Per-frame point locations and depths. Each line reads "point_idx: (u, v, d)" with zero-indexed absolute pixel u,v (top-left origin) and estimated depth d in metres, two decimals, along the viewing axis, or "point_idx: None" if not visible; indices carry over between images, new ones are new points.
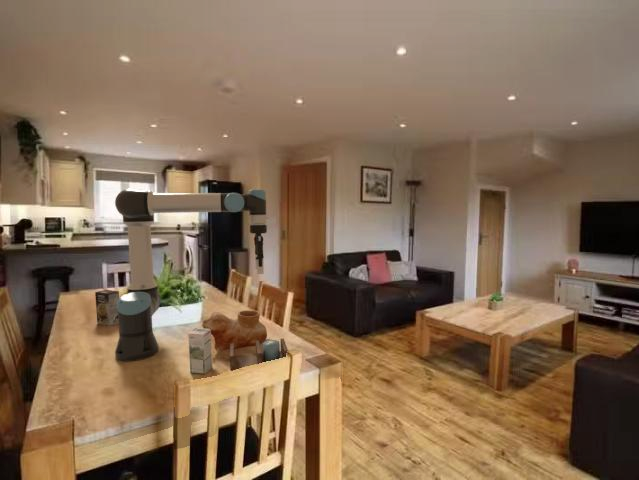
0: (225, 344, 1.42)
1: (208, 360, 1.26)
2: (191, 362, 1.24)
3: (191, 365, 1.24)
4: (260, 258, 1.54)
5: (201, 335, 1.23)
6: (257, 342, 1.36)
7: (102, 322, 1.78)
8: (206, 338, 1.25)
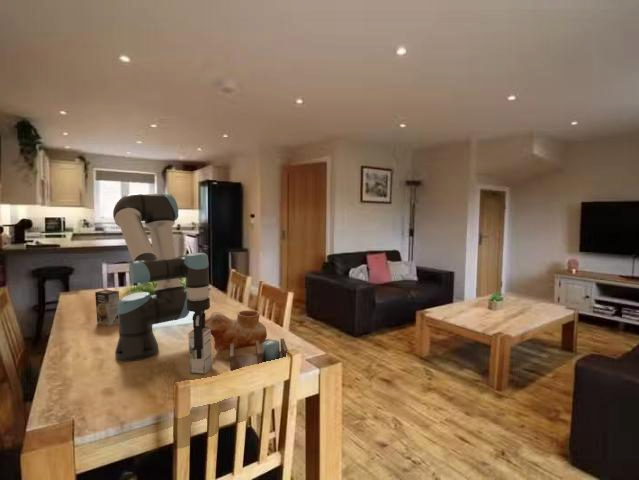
0: (225, 344, 1.42)
1: (208, 360, 1.26)
2: (191, 362, 1.24)
3: (191, 365, 1.24)
4: None
5: None
6: (257, 342, 1.36)
7: (102, 322, 1.78)
8: (206, 338, 1.25)
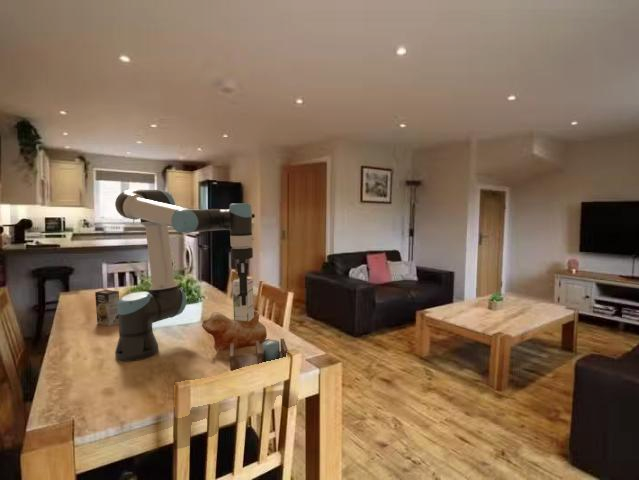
0: (225, 344, 1.42)
1: (251, 309, 1.29)
2: (235, 310, 1.27)
3: (235, 313, 1.27)
4: (243, 295, 1.23)
5: None
6: (257, 342, 1.36)
7: (102, 322, 1.78)
8: (249, 286, 1.27)
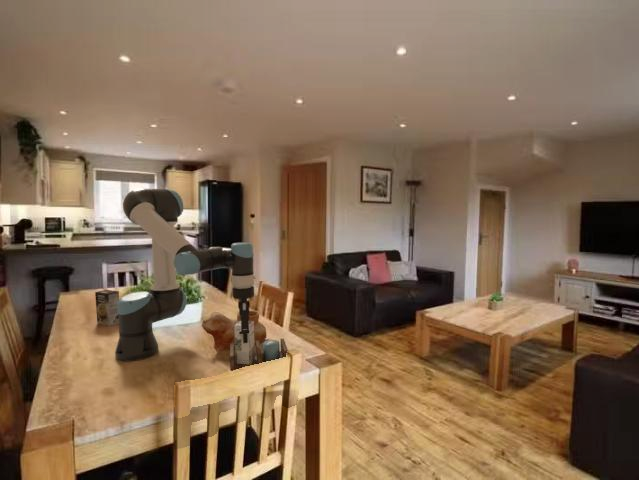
0: (225, 344, 1.42)
1: (252, 351, 1.30)
2: (237, 353, 1.28)
3: (237, 356, 1.28)
4: (245, 333, 1.21)
5: None
6: (257, 342, 1.36)
7: (102, 322, 1.78)
8: (251, 330, 1.29)
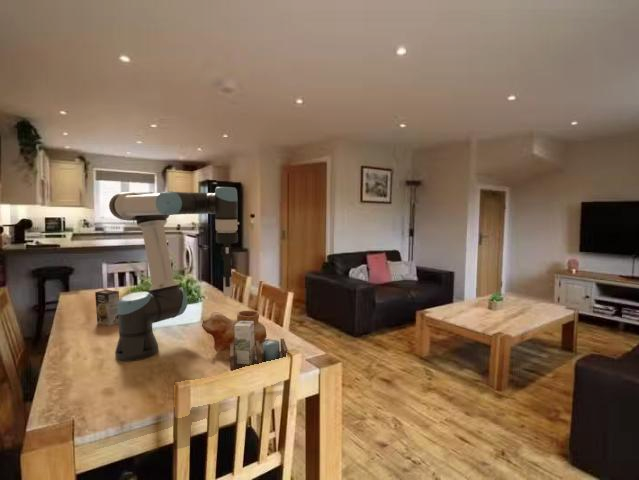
0: (225, 344, 1.42)
1: (252, 352, 1.30)
2: (237, 353, 1.28)
3: (237, 356, 1.28)
4: (227, 276, 1.19)
5: (247, 327, 1.27)
6: (257, 342, 1.36)
7: (102, 322, 1.78)
8: (251, 330, 1.29)
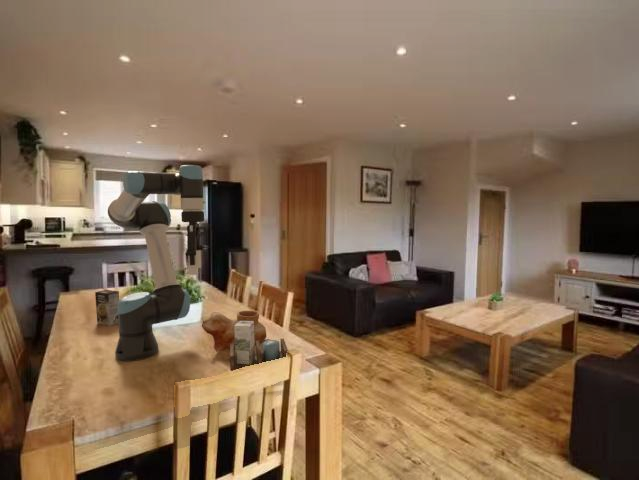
0: (225, 344, 1.42)
1: (252, 352, 1.30)
2: (237, 353, 1.28)
3: (237, 356, 1.28)
4: (191, 254, 1.18)
5: (247, 327, 1.27)
6: (257, 342, 1.36)
7: (102, 322, 1.78)
8: (251, 330, 1.29)
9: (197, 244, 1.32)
